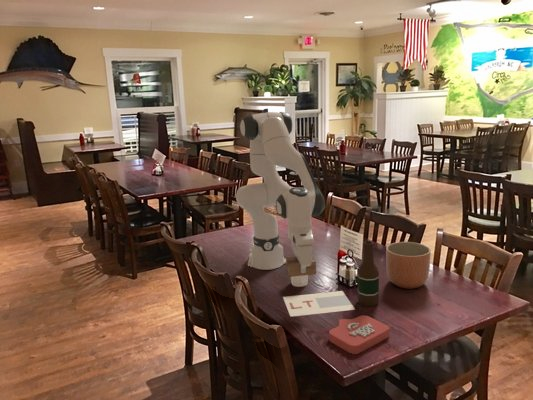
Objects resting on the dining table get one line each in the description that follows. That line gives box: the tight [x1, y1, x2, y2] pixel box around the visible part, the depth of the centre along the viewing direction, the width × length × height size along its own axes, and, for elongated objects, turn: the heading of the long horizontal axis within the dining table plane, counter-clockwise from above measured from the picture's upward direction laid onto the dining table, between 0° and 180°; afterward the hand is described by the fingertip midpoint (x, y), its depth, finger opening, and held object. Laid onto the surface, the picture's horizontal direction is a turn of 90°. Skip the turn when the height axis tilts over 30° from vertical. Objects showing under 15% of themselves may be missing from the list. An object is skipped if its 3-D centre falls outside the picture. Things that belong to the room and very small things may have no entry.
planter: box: [385, 241, 432, 290], centre depth 184 cm, size 17×17×15 cm
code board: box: [282, 290, 356, 317], centre depth 171 cm, size 16×24×1 cm, turn 98°
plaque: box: [328, 315, 390, 355], centre depth 149 cm, size 18×4×15 cm
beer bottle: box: [357, 240, 380, 307], centre depth 168 cm, size 8×8×24 cm
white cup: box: [290, 275, 309, 288], centre depth 188 cm, size 8×8×10 cm
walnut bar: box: [285, 255, 317, 278], centre depth 167 cm, size 6×10×5 cm, turn 98°
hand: (300, 268), depth 167 cm, fingers closed on walnut bar, 6 cm apart
